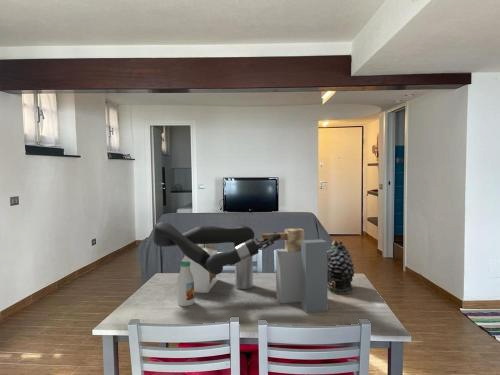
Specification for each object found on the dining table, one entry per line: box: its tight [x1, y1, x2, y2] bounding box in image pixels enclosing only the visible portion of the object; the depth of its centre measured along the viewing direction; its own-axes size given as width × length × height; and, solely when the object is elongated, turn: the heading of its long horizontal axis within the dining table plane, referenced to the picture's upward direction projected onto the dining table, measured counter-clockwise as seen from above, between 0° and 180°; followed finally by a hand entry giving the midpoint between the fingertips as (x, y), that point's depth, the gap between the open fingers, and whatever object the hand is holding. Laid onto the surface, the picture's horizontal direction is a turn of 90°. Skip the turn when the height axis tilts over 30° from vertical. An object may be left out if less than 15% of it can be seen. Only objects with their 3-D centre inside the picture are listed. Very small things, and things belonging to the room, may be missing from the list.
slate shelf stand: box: [275, 238, 329, 314], centre depth 162 cm, size 18×21×31 cm
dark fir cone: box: [327, 240, 355, 295], centre depth 182 cm, size 21×15×25 cm
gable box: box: [181, 244, 219, 294], centre depth 190 cm, size 22×13×28 cm, turn 171°
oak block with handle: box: [261, 227, 305, 252], centre depth 166 cm, size 20×6×10 cm, turn 101°
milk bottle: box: [176, 261, 195, 307], centre depth 164 cm, size 8×8×20 cm
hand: (278, 234), depth 166 cm, fingers open, 5 cm apart
